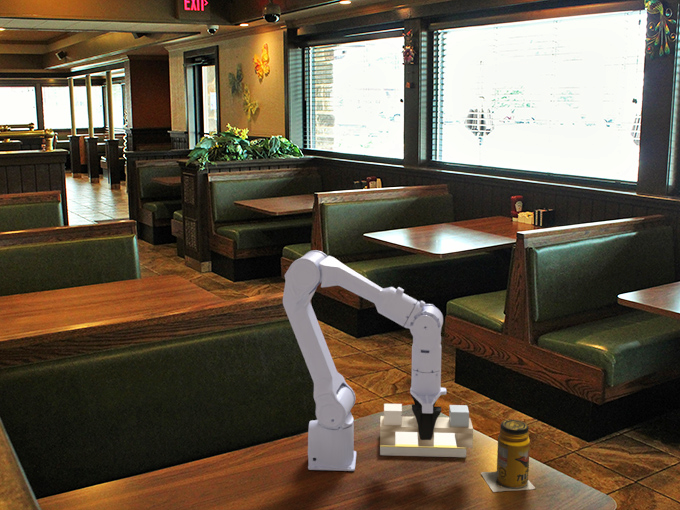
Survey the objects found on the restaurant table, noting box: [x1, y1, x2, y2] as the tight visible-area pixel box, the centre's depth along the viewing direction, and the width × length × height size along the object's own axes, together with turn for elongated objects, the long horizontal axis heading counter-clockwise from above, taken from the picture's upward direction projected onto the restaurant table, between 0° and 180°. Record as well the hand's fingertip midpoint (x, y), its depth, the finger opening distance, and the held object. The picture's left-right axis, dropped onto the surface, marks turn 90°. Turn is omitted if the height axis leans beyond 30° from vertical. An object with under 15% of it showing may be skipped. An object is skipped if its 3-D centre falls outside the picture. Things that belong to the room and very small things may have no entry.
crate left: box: [383, 403, 403, 425], centre depth 139 cm, size 4×4×3 cm
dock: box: [379, 432, 467, 458], centre depth 152 cm, size 18×10×2 cm, turn 86°
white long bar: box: [379, 415, 474, 449], centre depth 139 cm, size 18×5×4 cm, turn 86°
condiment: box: [480, 419, 536, 493], centre depth 136 cm, size 7×8×12 cm
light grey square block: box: [448, 404, 470, 427], centre depth 138 cm, size 4×4×3 cm
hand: (425, 432), depth 139 cm, fingers closed on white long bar, 5 cm apart
